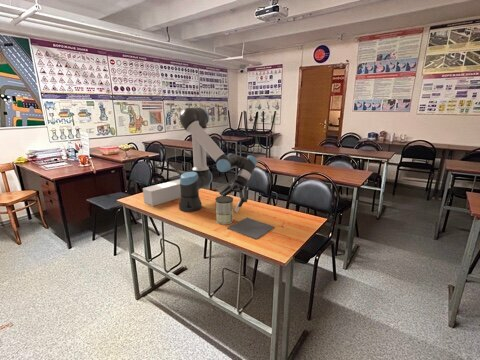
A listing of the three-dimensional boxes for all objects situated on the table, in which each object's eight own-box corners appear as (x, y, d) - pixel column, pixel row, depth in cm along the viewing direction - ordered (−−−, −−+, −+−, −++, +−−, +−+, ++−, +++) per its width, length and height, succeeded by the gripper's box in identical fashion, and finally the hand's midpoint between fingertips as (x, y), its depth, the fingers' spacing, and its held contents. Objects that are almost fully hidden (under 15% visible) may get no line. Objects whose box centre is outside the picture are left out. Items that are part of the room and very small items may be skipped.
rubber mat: (227, 228, 147) (227, 227, 147) (247, 218, 161) (247, 217, 161) (256, 239, 135) (256, 238, 135) (275, 227, 149) (275, 226, 148)
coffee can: (213, 218, 160) (213, 196, 156) (229, 216, 164) (229, 194, 160) (218, 225, 151) (218, 202, 147) (235, 223, 154) (235, 200, 151)
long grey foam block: (152, 206, 180) (151, 191, 177) (144, 202, 186) (142, 188, 184) (189, 195, 203) (188, 181, 200) (180, 192, 210) (180, 179, 207)
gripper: (261, 185, 157) (246, 216, 150) (230, 178, 172) (214, 206, 165) (256, 178, 152) (240, 210, 145) (224, 171, 167) (208, 200, 160)
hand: (226, 208), depth 155 cm, fingers open, 13 cm apart
